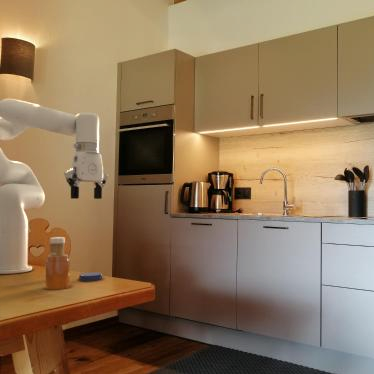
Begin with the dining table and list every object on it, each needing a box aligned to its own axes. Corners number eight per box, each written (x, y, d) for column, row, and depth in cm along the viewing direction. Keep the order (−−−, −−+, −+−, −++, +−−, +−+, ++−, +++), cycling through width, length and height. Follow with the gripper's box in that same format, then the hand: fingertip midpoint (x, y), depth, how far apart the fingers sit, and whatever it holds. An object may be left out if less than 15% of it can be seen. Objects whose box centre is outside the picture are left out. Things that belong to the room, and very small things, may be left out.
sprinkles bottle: (65, 278, 137) (66, 237, 138) (50, 280, 135) (51, 238, 135) (63, 276, 141) (63, 236, 141) (48, 278, 138) (48, 237, 139)
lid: (103, 280, 135) (104, 274, 135) (81, 282, 132) (81, 276, 132) (99, 276, 141) (99, 271, 141) (77, 278, 137) (77, 273, 138)
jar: (41, 287, 123) (41, 255, 123) (62, 284, 128) (63, 253, 128) (52, 290, 119) (52, 257, 119) (73, 287, 124) (74, 255, 124)
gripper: (73, 145, 136) (72, 198, 135) (114, 151, 151) (113, 198, 150) (58, 146, 139) (57, 198, 139) (99, 152, 154) (98, 198, 154)
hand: (86, 198), depth 144 cm, fingers open, 9 cm apart
